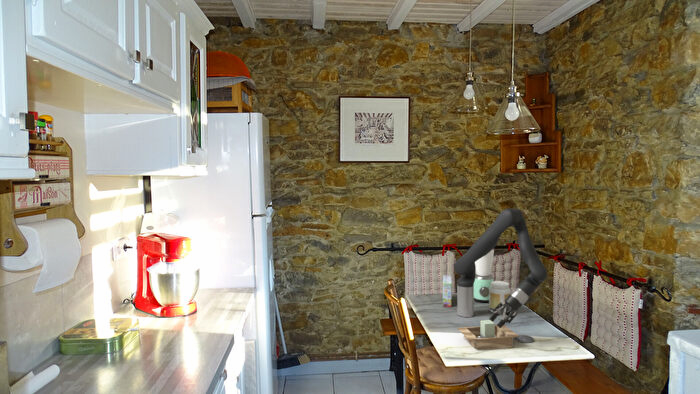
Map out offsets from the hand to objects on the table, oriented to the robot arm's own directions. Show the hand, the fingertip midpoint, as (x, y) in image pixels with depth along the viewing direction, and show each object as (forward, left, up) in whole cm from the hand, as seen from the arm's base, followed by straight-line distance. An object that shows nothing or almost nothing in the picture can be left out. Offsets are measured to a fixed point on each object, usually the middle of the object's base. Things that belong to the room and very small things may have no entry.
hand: (494, 323), depth 212 cm
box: (0, -4, -9) cm, 10 cm away
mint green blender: (-65, +23, -9) cm, 70 cm away
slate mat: (0, +15, -9) cm, 18 cm away
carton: (0, -4, -9) cm, 10 cm away
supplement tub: (-42, +23, -9) cm, 49 cm away
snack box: (-65, -1, -9) cm, 66 cm away
